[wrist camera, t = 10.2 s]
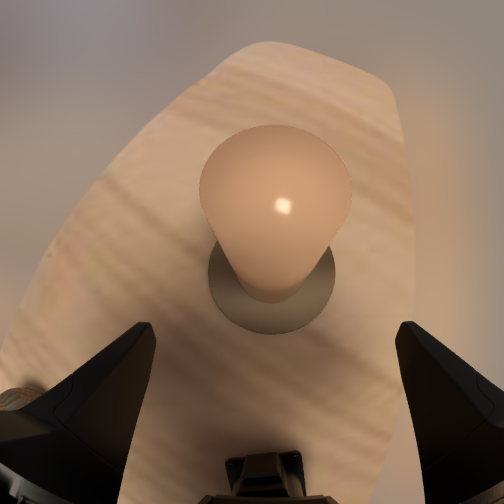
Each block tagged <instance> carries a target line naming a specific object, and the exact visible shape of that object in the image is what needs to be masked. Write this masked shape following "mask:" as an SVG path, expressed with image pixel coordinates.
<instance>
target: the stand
mask: <svg viewBox="0 0 504 504" xmlns="http://www.w3.org/2000/svg"><path fill="white" fill-rule="evenodd" d="M208 276H209V284H210V288H211V291H212V295H213V297H214V299H215V301H216V303H217V304H218V306H219V307H220V309H221V310H222V311H223V312H224V314H225V315H226V316H227V317H228V318H230V319H231V320H232V321H233V322H235V323H236V324H238V325H239V326H241V327H243V328H245V329H247V330H250V331H253V332H256V333H261V334H283V333H287V332H291V331H294V330H297V329H299V328H301V327H303V326H305V325H306V324H308V323H309V322H311V321H312V320H313V319H314V318H315V317H316V316H317V315H318V314H319V313H320V312H321V311H322V310H323V308H324V307H325V306H326V304H327V302H328V300H329V298H330V296H331V293H332V291H333V287H334V282H335V263H334V258H333V255H332V251H331V249H330V247H329V246H328V247H327V249H326V251H325V252H324V254H323V255H322V257H321V258H320V260H319V261H318V263H317V264H316V265H315V267H314V268H313V270H312V271H311V273H310V274H309V276H308V277H307V279H306V280H305V282H304V283H303V284H302V286H301V287H300V289H299V290H298V292H297V293H296V294H295V295H294V296H292V297H291V298H289V299H288V300H286V301H284V302H280V303H275V304H268V303H262V302H259V301H257V300H255V299H253V298H252V297H250V296H249V295H248V294H247V293H246V292H245V290H244V289H243V287H242V286H241V284H240V282H239V280H238V278H237V276H236V274H235V272H234V271H233V269H232V267H231V265H230V263H229V261H228V259H227V257H226V255H225V253H224V251H223V249H222V247H221V245H220V243H219V241H218V240H217V242H216V244H215V246H214V248H213V251H212V253H211V256H210V261H209V269H208Z"/></svg>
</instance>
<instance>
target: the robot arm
mask: <svg viewBox="0 0 504 504" xmlns="http://www.w3.org/2000/svg"><path fill="white" fill-rule="evenodd" d="M395 345H396V350H397V356H398V361H399V367H400V373H401V378H402V382H403V386H404V390H405V393H406V397H407V401H408V405H409V409H410V413H411V418H412V422H413V427H414V432H415V436H416V441H417V447H418V452H419V458H420V463H421V470H422V479H423V486H424V495H425V504H504V391H502V390H501V389H500V388H498V387H497V386H495V385H494V384H493V383H491V382H490V381H489V380H487V379H486V378H485V377H484V376H482V375H481V374H480V373H479V372H477V371H476V370H475V369H474V368H473V367H471V366H470V365H469V364H468V363H466V362H465V361H464V360H462V359H461V358H460V357H459V356H458V355H456V354H455V353H454V352H452V351H451V350H450V349H449V348H447V347H446V346H445V345H444V344H442V343H441V342H439V341H438V340H437V339H436V338H434V337H433V336H432V335H431V334H429V333H428V332H426V331H425V330H424V329H423V328H421V327H420V326H419V325H417V324H416V323H415V322H413V321H405V322H402V323H401V325H400V328H399V331H398V333H397V335H396V338H395ZM155 348H156V337H155V334H154V331H153V328H152V325H151V324H150V323H149V322H138V323H137V324H135V325H134V326H133V327H132V328H130V329H129V330H128V331H126V332H125V333H124V334H122V335H121V336H120V337H118V338H117V339H116V340H115V341H113V342H112V343H111V344H109V345H108V346H107V347H105V348H104V349H103V350H102V351H100V352H99V353H98V354H96V355H95V356H94V357H92V358H91V359H90V360H89V361H87V362H86V363H85V364H83V365H82V366H81V367H80V368H78V369H77V370H76V371H74V372H73V374H70V375H69V376H68V377H67V378H65V379H64V380H63V381H61V382H60V383H59V384H57V385H56V386H55V387H53V388H52V389H50V390H49V391H47V392H46V393H44V394H42V395H41V396H39V397H38V398H36V399H35V400H33V401H31V402H30V403H28V404H27V405H25V406H23V407H22V408H19V409H16V410H11V411H4V410H0V504H117V501H118V496H119V491H120V487H121V482H122V478H123V473H124V469H125V465H126V461H127V457H128V453H129V449H130V445H131V441H132V437H133V434H134V430H135V426H136V423H137V419H138V416H139V412H140V409H141V405H142V402H143V399H144V395H145V392H146V389H147V385H148V382H149V378H150V373H151V368H152V363H153V358H154V353H155ZM294 455H298V457H297V458H293V456H294ZM229 462H232V463H234V464H233V465H230V464H229ZM225 466H226V471H227V475H228V479H229V484H230V488H231V492H232V494H231V496H228V495H218V494H217V495H216V496H215V497H214V496H210V495H206V496H205V497H204V498H203V499H202V500H201V501H200V502H199V503H198V504H338V503H337V502H336V501H335V500H334V499H333V498H332V497H330V496H326V497H324V496H323V495H316V496H306V488H305V479H304V471H303V462H302V456H301V453H300V452H298V451H293V452H286V453H279V454H278V453H276V452H274V453H265V454H256V455H247V456H246V457H241V458H229V459H227V460H226V462H225Z"/></svg>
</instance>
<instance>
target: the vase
mask: <svg viewBox="0 0 504 504" xmlns="http://www.w3.org/2000/svg"><path fill="white" fill-rule="evenodd" d="M39 396H41V394H39V393H38V392H36V391H34V390H31V389H27V388H12V389H8V390H6V391H4V392H3V393H1V394H0V410H4V411H11V410H16V409H19V408H22V407H23V406H25V405H27V404H28V403H30V402H31V401H33V400H35V399H36V398H38V397H39Z"/></svg>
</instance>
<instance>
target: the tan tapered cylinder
mask: <svg viewBox="0 0 504 504" xmlns="http://www.w3.org/2000/svg"><path fill="white" fill-rule="evenodd" d="M199 194H200V201H201V205H202V208H203V211H204V213H205V216H206V218H207V220H208V222H209V224H210V226H211V228H212V230H213V232H214V234H215V236H216V237H217V239H218V241H219V243H220V245H221V247H222V249H223V251H224V253H225V255H226V257H227V259H228V261H229V263H230V265H231V267H232V269H233V271H234V272H235V274H236V276H237V278H238V280H239V282H240V284H241V286H242V287H243V289H244V290H245V292H246V293H247V294H248V295H249V296H250V297H252V298H253V299H255V300H257V301H259V302H262V303H268V304H275V303H280V302H284V301H286V300H288V299H289V298H291V297H292V296H294V295H295V294H296V293H297V292H298V290H299V289H300V287H301V286H302V284H303V283H304V282H305V280H306V279H307V277H308V276H309V274H310V273H311V271H312V270H313V268H314V267H315V265H316V264H317V263H318V261H319V260H320V258H321V257H322V255H323V254H324V252H325V251H326V249H327V247H328V246H329V244H330V243H331V241H332V240H333V238H334V237H335V235H336V234H337V232H338V231H339V229H340V227H341V226H342V224H343V223H344V221H345V219H346V217H347V215H348V213H349V210H350V206H351V201H352V184H351V179H350V176H349V173H348V170H347V168H346V166H345V164H344V162H343V160H342V159H341V158H340V156H339V155H338V154H337V152H336V151H335V150H334V149H333V148H332V147H331V146H330V145H328V144H327V143H326V142H325V141H323V140H322V139H320V138H319V137H317V136H315V135H313V134H312V133H309V132H307V131H304V130H302V129H298V128H295V127H290V126H283V125H265V126H258V127H254V128H250V129H247V130H244V131H241V132H239V133H237V134H235V135H233V136H232V137H230V138H228V139H227V140H225V141H224V142H223V143H222V144H220V145H219V146H218V147H217V148H216V149H215V150H214V152H213V153H212V154H211V156H210V157H209V158H208V160H207V162H206V164H205V166H204V168H203V171H202V174H201V178H200V185H199Z"/></svg>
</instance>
